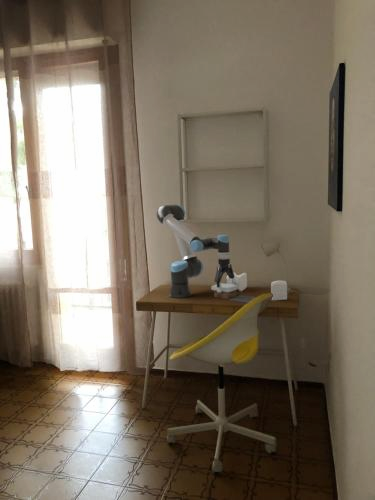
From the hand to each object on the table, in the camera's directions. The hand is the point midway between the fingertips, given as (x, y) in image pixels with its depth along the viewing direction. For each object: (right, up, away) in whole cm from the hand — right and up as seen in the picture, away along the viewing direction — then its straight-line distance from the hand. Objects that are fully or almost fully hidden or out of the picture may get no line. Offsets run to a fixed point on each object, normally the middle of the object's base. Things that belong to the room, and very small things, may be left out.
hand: (225, 290), depth 274 cm
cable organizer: (+10, -2, +19) cm, 22 cm away
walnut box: (0, -4, +1) cm, 5 cm away
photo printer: (+33, -5, -12) cm, 36 cm away
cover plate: (0, 0, 0) cm, 1 cm away
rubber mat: (+12, -5, -9) cm, 16 cm away
